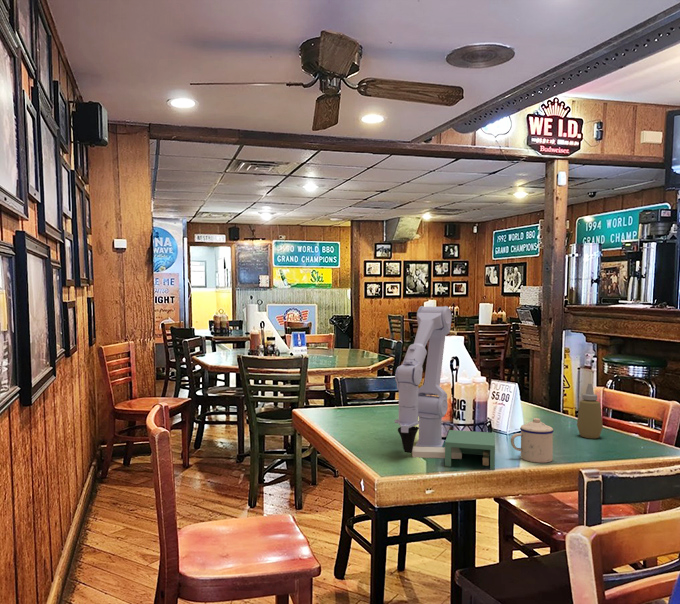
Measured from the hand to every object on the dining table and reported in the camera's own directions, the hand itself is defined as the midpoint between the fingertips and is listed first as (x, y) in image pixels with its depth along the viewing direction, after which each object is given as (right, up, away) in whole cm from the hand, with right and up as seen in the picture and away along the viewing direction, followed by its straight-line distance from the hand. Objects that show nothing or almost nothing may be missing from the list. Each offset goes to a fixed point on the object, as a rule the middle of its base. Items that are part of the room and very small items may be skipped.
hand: (408, 452), depth 162 cm
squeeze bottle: (+65, -2, +26) cm, 70 cm away
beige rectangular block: (+8, -1, +1) cm, 9 cm away
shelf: (+17, -1, -4) cm, 18 cm away
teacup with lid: (+35, -1, -2) cm, 35 cm away
